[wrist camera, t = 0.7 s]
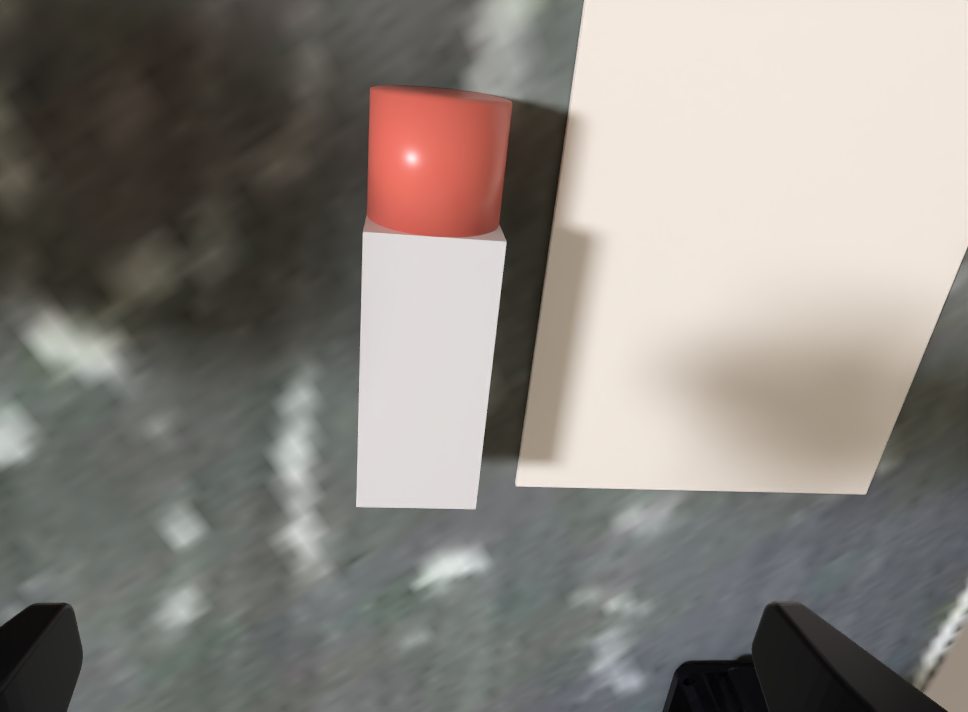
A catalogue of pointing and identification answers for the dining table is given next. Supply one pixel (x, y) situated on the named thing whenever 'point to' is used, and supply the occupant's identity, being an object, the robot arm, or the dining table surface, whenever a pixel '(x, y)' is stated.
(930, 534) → the dining table surface
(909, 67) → the paper
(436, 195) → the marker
